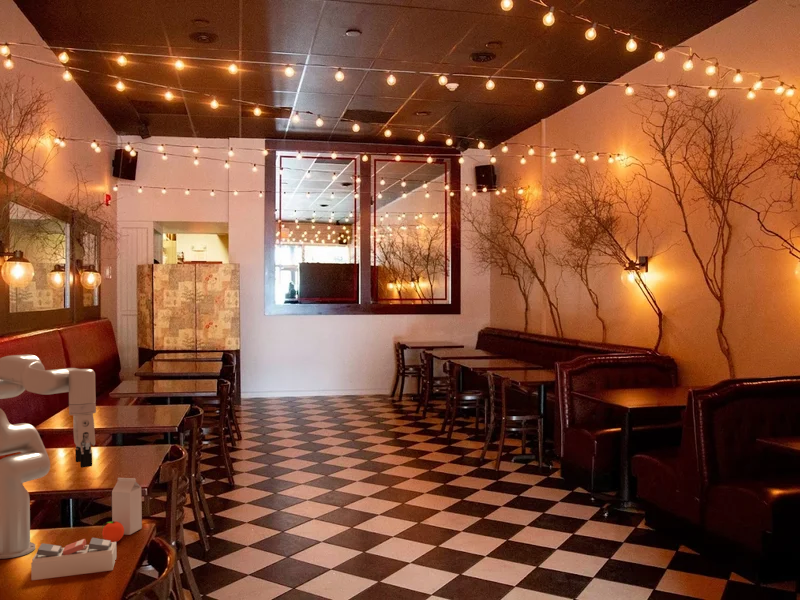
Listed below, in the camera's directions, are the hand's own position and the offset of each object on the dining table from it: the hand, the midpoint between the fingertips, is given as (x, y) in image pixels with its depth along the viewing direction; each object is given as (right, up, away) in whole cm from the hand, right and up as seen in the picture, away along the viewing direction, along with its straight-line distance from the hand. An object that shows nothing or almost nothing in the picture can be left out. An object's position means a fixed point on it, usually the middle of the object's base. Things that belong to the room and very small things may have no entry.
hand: (83, 464), depth 205 cm
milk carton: (+1, -32, +31) cm, 45 cm away
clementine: (0, -32, +20) cm, 38 cm away
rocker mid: (-1, -24, -4) cm, 25 cm away
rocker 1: (-8, -25, -6) cm, 26 cm away
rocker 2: (+6, -24, -2) cm, 25 cm away
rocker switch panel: (-1, -31, -2) cm, 32 cm away
